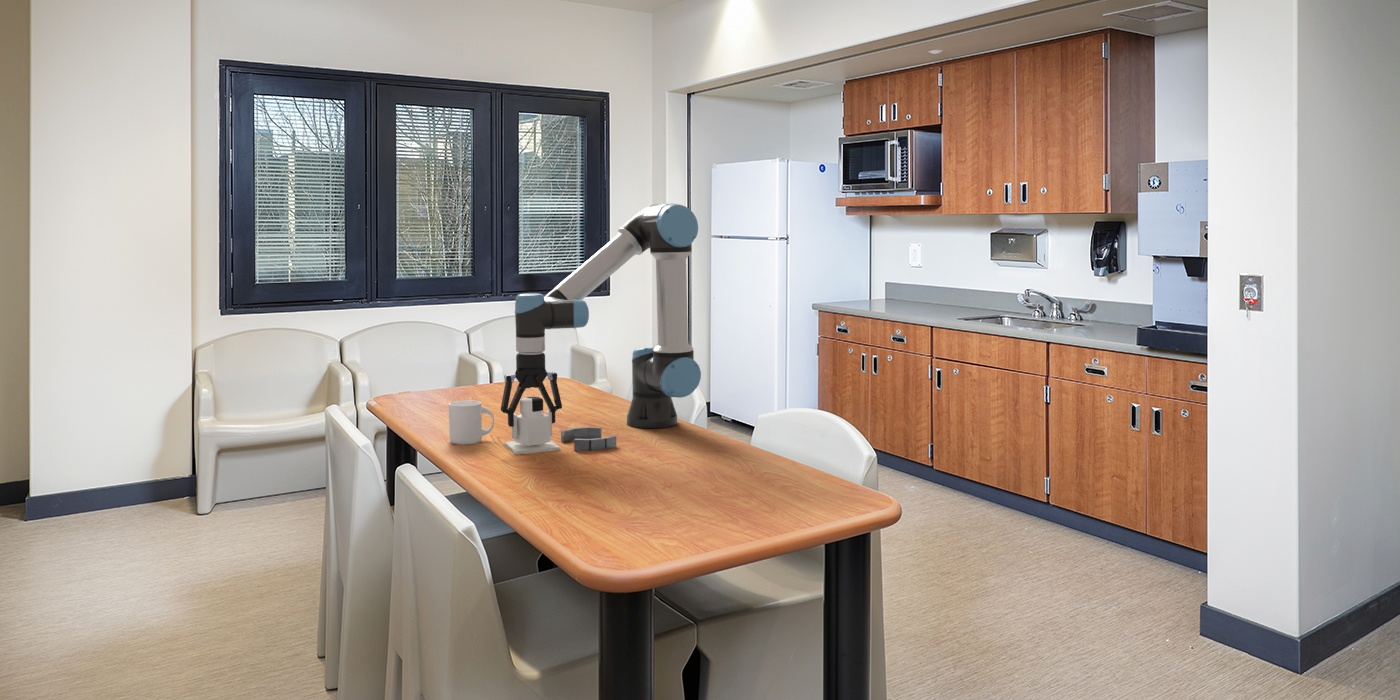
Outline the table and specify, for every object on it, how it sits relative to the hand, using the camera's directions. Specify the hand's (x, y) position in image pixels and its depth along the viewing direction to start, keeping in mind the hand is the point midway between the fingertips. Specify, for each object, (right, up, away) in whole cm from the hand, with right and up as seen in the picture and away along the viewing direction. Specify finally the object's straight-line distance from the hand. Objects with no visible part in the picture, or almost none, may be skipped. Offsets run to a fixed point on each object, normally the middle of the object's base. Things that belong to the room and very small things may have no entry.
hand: (532, 436), depth 256 cm
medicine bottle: (0, -2, 0) cm, 2 cm away
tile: (0, -3, 0) cm, 3 cm away
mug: (-18, -2, +8) cm, 19 cm away
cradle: (+14, -2, +5) cm, 15 cm away
